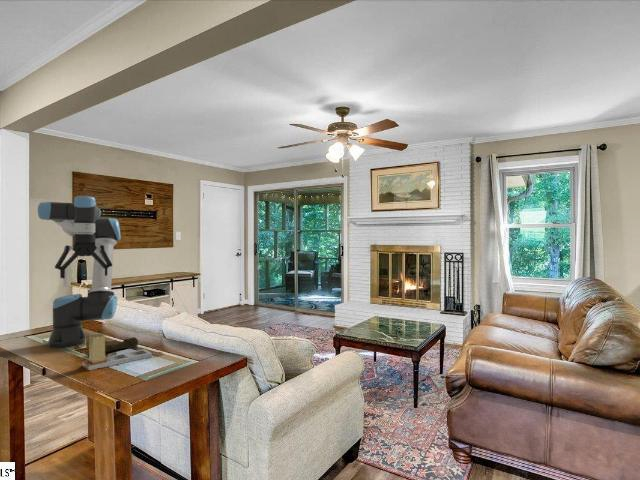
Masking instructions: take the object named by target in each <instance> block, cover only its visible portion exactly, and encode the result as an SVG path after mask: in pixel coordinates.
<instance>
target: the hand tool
mask: <svg viewBox="0 0 640 480" xmlns="http://www.w3.org/2000/svg"><path fill="white" fill-rule="evenodd" d="M138 345H139V340H138V339H137V338H136V337H132V336H131V337H129V338H125V339H124V340H123V341H118V342H114V343H111V344H110V343H109V344H105V354H106V353H110V352H113V351H119V350H122V349H125V350H128V349H133V348H134V347H137V346H138Z"/></svg>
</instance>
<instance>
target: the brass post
mask: <svg viewBox="0 0 640 480" xmlns="http://www.w3.org/2000/svg"><path fill="white" fill-rule="evenodd" d="M88 337H89V338H88V339H89V342H88V344H89V345H88V351H89V352H88V355H89V356H88V360H89V363H90V364H96V363H101V362H105V357H106V353H105V345H106V336H105V334H102V333H100V334H99V333H98V334H93V335H89V336H88Z"/></svg>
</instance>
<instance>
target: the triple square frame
mask: <svg viewBox="0 0 640 480" xmlns="http://www.w3.org/2000/svg"><path fill="white" fill-rule="evenodd" d="M152 357H153V353H152V352H150V351H149V350H147V349H138V350H134V351H129V352H124V353H119V354H114V355H109V356H105V362H101V363H96V364H90V363H89V359H87V360H83V361H82V366H83V368H84V369H86V370H87V371H88V370H90V371H93V370H94V371H95V370H98V368H99V369H104V368H107V367H111V366H116V365H121V364H125V363H129V362H133V361H134V362H135V361H139V360H143V359H147V358H152Z"/></svg>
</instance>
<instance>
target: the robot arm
mask: <svg viewBox="0 0 640 480" xmlns="http://www.w3.org/2000/svg"><path fill="white" fill-rule="evenodd" d="M73 198H74V199H73V202H57V201H41V202H39V204H38V206H37V216H38V218H39V219H40V220H45V221H52V222H54V223H56V224H57V225H58V226H60V227H61V228H62V231H63V232H64V233H66V234H67V235H69V236H71V237H73V246H71V245H67V244H66V245H64V247H63V248H64V249H63V251H62V253H61V255H60V257H59V258H58V260H57V262H56V263H55V265H54V269H57V270H59V275H60V276H59V277H60V278H61V279H62V280H63V281H62V282H63V283H62V285H63V286H62V287H65V288H66V287H68V270H67V268H68V267H69V266H70V265H71V264H72V263H73V262H74V260H76V258H78V257H92V258H93V264H92V265H93V266H92V277H91V278H92V279H91V289H90V290H89V291H88V292H87V296H83V294H82V293H76V294H68V295H63V296H59V297H56V298H54V300H53V302H52V331H51V334H50V335H49V338H48V341H47V345H48V347H49V348H51V349H53V348H56V349H58V348H59V349H61V348H69V347H74V346H80V345H82V344H85V343H86V342H87V335H86V333H85V330H84V329H83V322H88V321H104V320H111V319H113V317H114V316H115V315H116V310H117V306H118V295H115V291H113V290H112V282H113V281H112V280H113V277H112V276H113V263H114V261H113V260H114V246H116V245H117V244H118V241H120V240H121V237H122V236H121V228H120V222H119V221H118V219H116V218H113V217H101V215H102V214H101V213H102V210H101V209H100V207H99V206H98V205H97V203H96V198H95V197H94V196H89V195H88V196H86V195H78V196H75V197H73ZM72 250H73V251H74V253H72V255H71V256H70V257H69V258H68V259H67V260H66V261H65V259H66V258H67V256H68V254H69V252H70V251H72ZM64 261H65V262H64Z"/></svg>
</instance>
